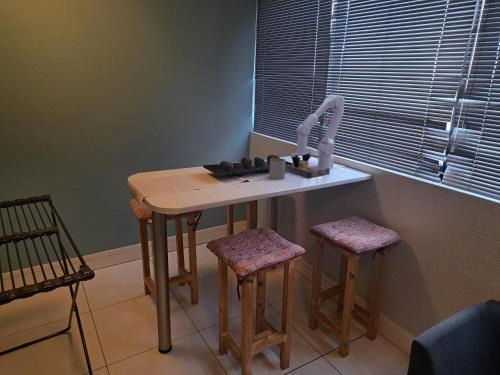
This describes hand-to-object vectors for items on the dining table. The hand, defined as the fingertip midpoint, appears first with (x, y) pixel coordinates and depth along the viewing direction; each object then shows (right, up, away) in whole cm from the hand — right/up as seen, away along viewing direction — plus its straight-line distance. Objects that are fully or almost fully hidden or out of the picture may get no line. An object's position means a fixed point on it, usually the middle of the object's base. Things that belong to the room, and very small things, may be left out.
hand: (300, 167), depth 206 cm
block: (0, -1, 0) cm, 1 cm away
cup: (-15, -7, -16) cm, 24 cm away
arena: (+2, -3, -5) cm, 6 cm away
